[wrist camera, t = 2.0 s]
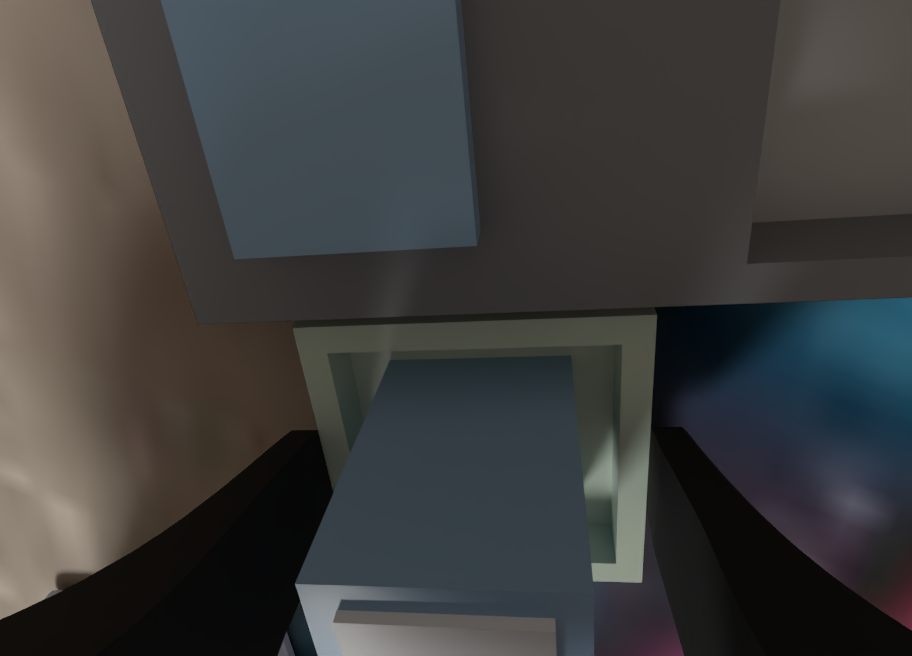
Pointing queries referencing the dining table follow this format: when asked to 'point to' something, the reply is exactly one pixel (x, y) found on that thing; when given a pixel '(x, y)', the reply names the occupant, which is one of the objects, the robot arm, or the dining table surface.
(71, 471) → the dining table surface
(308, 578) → the plug
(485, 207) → the grey busybox board
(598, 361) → the tray
